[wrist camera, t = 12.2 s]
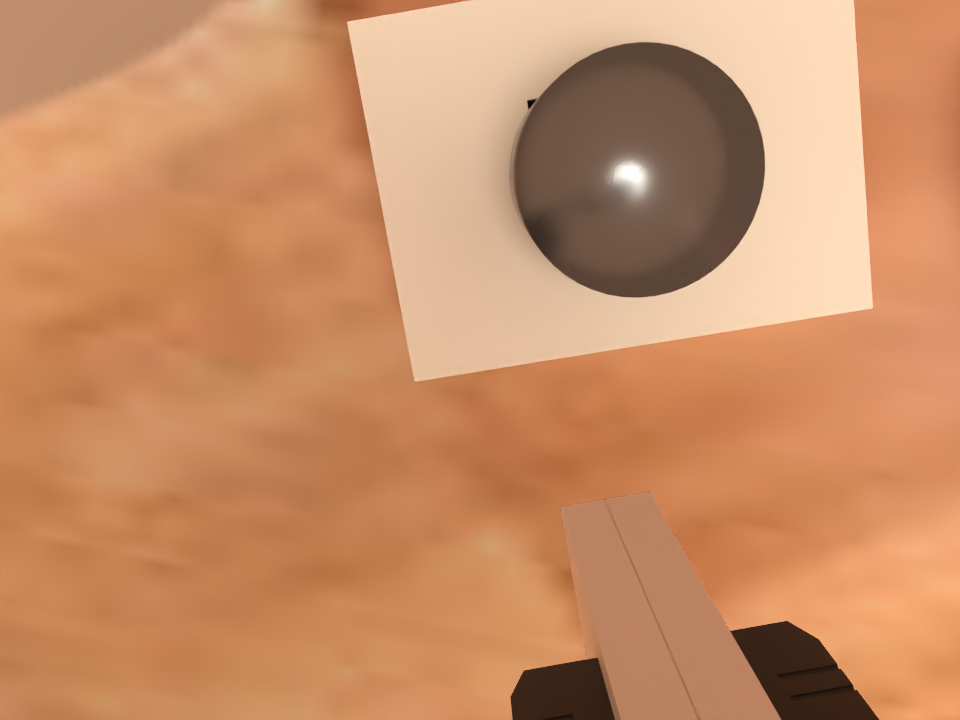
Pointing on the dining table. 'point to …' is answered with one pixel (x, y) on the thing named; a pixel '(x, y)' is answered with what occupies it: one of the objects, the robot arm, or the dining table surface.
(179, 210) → the dining table surface
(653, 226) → the pin
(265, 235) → the dining table surface
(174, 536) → the dining table surface
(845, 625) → the dining table surface
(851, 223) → the block
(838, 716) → the robot arm
